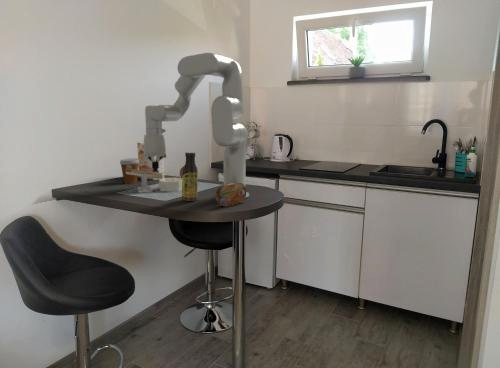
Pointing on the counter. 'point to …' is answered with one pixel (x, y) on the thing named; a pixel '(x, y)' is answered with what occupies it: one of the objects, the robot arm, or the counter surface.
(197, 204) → the counter surface
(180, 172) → the onion
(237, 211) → the counter surface
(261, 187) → the counter surface
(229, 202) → the sandwich
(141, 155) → the coffeecake box
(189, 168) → the sauce bottle
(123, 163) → the brown food tub
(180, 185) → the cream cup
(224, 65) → the robot arm
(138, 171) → the birch lever
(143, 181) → the lever stand
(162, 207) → the counter surface
